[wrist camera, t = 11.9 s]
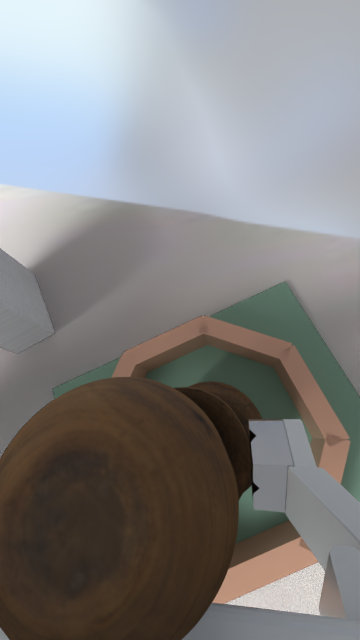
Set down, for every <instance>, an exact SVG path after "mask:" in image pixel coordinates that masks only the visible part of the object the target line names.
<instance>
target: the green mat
mask: <svg viewBox="0 0 360 640" xmlns="http://www.w3.org/2000/svg"><path fill="white" fill-rule="evenodd" d="M209 317H211V318H214V319H218V320H221V321H224V322H227V323H230V324H233V325H236V326H240V327H243V328H246V329H249V330H252V331H255V332H258V333H262V334H265V335H268V336H271V337H274V338H277V339H280V340H284V341H287V342H290V343H292V345H291V346H293V345H295V347H296V349H297V351H298V352H299V354H300V356H301V357H302V359H303V361H304V362H305V364H306V366H307V367H308V369H309V371H310V372H311V374H312V376H313V377H314V379H315V381H316V382H317V384H318V386H319V387H320V389H321V391H322V392H323V394H324V396H325V397H326V399H327V401H328V402H329V404H330V406H331V407H332V409H333V411H334V412H335V414H336V416H337V417H338V419H339V421H340V422H341V424H342V426H343V427H344V429H345V431H346V432H347V434H348V436H349V437H350V438H349V439H347V440H349V441H351V442H350V446H349V450H348V455H347V459H346V463H345V468H344V472H343V476H342V481H341V485H342V486H343V487H344V488H345V489H346V490H347V491H348V492H349V493H350V494H351V495H352V496H354V497H355V498H356V499H357V500H358V501H359V502H360V397H359V395H358V393H357V392H356V390H355V389H354V387H353V386H352V384H351V383H350V381H349V380H348V378H347V376H346V375H345V373H344V372H343V370H342V369H341V367H340V366H339V364H338V362H337V361H336V359H335V358H334V356H333V355H332V353H331V352H330V350H329V348H328V347H327V345H326V344H325V342H324V341H323V339H322V338H321V336H320V334H319V333H318V331H317V330H316V328H315V327H314V325H313V324H312V322H311V320H310V319H309V317H308V316H307V314H306V313H305V311H304V310H303V308H302V307H301V305H300V303H299V302H298V300H297V299H296V297H295V296H294V294H293V293H292V291H291V289H290V288H289V286H288V285H287V283H286V282H283V283H281V284H278V285H276V286H274V287H272V288H270V289H268V290H265V291H263V292H261V293H259V294H257V295H255V296H252V297H250V298H248V299H246V300H244V301H242V302H239V303H237V304H235V305H233V306H231V307H229V308H226V309H224V310H222V311H220V312H218V313H216V314H213V315H211V316H209ZM120 358H121V357H120ZM120 358H118V359H116V360H114V361H112V362H110V363H107V364H105V365H103V366H101V367H99V368H97V369H94V370H92V371H90V372H88V373H86V374H84V375H81V376H79V377H77V378H75V379H73V380H71V381H68V382H66V383H64V384H62V385H60V386H58V387H55V388H53V394H54V398H55V399H56V398H57V397H59V396H61V395H62V394H64V393H66V392H68V391H70V390H72V389H74V388H76V387H79V386H81V385H84V384H87V383H90V382H93V381H97V380H101V379H106V378H111V377H112V375H113V373H114V371H115V369H116V366H117V364H118V362H119V360H120ZM145 379H150V380H154V381H157V382H160V383H163V384H165V385H168V386H170V387H172V388H175V387H189V386H191V385H194V384H197V383H201V382H209V381H212V382H221V383H225V384H228V385H230V386H233V387H235V388H237V389H238V390H240V391H241V392H242V393H244V394H245V395H246V396H247V397H248V398H249V399H250V400H251V401H252V402H253V404H254V405H255V406H256V408H257V409H258V411H259V413H260V415H261V417H262V419H282V420H283V419H300V420H301V421H302V422H303V420H302V418H301V416H300V414H299V413H298V411H297V409H296V407H295V405H294V404H293V402H292V400H291V398H290V396H289V394H288V393H287V391H286V389H285V387H284V385H283V384H282V382H281V380H280V378H279V376H278V375H277V373H276V371H275V369H274V368H273V367H270V366H268V365H265V364H262V363H259V362H256V361H253V360H250V359H247V358H244V357H242V356H239V355H236V354H233V353H230V352H227V351H224V350H221V349H218V348H216V347H213V346H210V345H206V346H204V347H202V348H199V349H197V350H195V351H193V352H191V353H189V354H186V355H184V356H182V357H180V358H178V359H176V360H173V361H171V362H169V363H167V364H165V365H163V366H160V367H158V368H156V369H154V370H152V371H149V372H148V373H147V375H146V378H145ZM303 425H304V429H305V432H306V435H307V438H308V441H309V444H311V440H312V436H311V434H310V432H309V431H308V429H307V427H306V425H305V423H304V422H303ZM288 520H289V519H288V517H287V516H286V514H285V512H275V511H264V510H254V508H253V497H252V487H250V488H249V489H248V490H246V491H245V492H244V493H243V494H242V496H241V498H240V500H239V518H238V532H237V538H236V543H238V542H241V541H243V540H245V539H247V538H250V537H252V536H254V535H256V534H259V533H261V532H263V531H265V530H268V529H270V528H272V527H274V526H277V525H279V524H281V523H283V522H286V521H288ZM236 543H235V544H236Z"/></svg>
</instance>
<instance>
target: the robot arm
mask: <svg viewBox="0 0 360 640" xmlns="http://www.w3.org/2000/svg"><path fill="white" fill-rule="evenodd" d="M248 431H249V439H248V440H249V446H250V460H251V466H250V473H251V487H252V497H253V508H254V510H264V511H275V512H285V514H286V516H287V517H288V519H289V520H290V521H291V523H292V524H293V526H294V527H295V529H296V530H297V532H298V533H299V534H300V536H301V537H302V539H303V540H304V542H305V543H306V544H307V546H308V547H309V549H310V550H311V552H312V553H313V554H314V556H315V557H316V559H317V560H318V562H319V563H320V564H321V566H322V567H323V569H324V570H325V577H324V582H323V588H322V593H321V598H320V604H319V612H320V616H319V615H311V614H303V613H294V612H286V611H278V610H270V609H261V608H253V607H245V606H237V605H228V604H220V603H212V604H211V605H210V607H209V608H208V610H207V611H206V612H205V614H204V615H203V617H202V618H201V619H200V621H199V622H198V623H197V624H196V626H195V627H194V628H193V629H192V630H191V631H190V632H189V633H188V634H187V635H186V636H185V637H184V638H183V639H182V640H360V502H359V501H358V500H357V499H356V498H355V497H354V496H352V495H351V494H350V493H349V492H348V491H347V490H346V489H345V488H344V487H343V486H342V485H341V484H339V483H338V482H337V481H336V480H335V479H334V478H333V477H332V476H331V475H330V474H329V473H328V472H327V471H325V470H324V469H323V468H317V466H316V463H315V460H314V457H313V454H312V451H311V447H310V444H309V441H308V438H307V435H306V432H305V429H304V425H303V422H302V421H301V420H300V419H283V420H282V419H248ZM0 640H10V639H9V638H8V637H7V636H6V634H5V633H4V632H3V631H2V629H1V628H0Z"/></svg>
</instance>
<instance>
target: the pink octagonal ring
mask: <svg viewBox="0 0 360 640" xmlns="http://www.w3.org/2000/svg"><path fill="white" fill-rule="evenodd" d="M206 345H210V346H213V347H216V348H218V349H221V350H224V351H227V352H230V353H233V354H236V355H239V356H242V357H244V358H247V359H250V360H253V361H256V362H259V363H262V364H265V365H268V366H270V367H273V368H274V369H275V371H276V373H277V375H278V376H279V378H280V380H281V382H282V384H283V385H284V387H285V389H286V391H287V393H288V394H289V396H290V398H291V400H292V402H293V404H294V405H295V407H296V409H297V411H298V413H299V414H300V416H301V418H302V420H303V422H304V423H305V425H306V427H307V429H308V431H309V432H310V434H311V436H312V440H311V444H310V447H311V451H312V454H313V457H314V460H315V463H316V466H317V468H323V469H324V470H325V471H327V472H328V473H329V474H330V475H331V476H332V477H333V478H334V479H335V480H336V481H337V482H338V483H339V484H341V481H342V476H343V472H344V468H345V463H346V459H347V455H348V450H349V446H350V442H351V441H349V440H347V439H349V438H350V437H349V436H348V434H347V432H346V431H345V429H344V427H343V426H342V424H341V422H340V421H339V419H338V417H337V416H336V414H335V412H334V411H333V409H332V407H331V406H330V404H329V402H328V401H327V399H326V397H325V396H324V394H323V392H322V391H321V389H320V387H319V386H318V384H317V382H316V381H315V379H314V377H313V376H312V374H311V372H310V371H309V369H308V367H307V366H306V364H305V362H304V361H303V359H302V357H301V356H300V354H299V352H298V351H297V349H296V347H295V345H293V346H291V345H292V343H290V342H287V341H284V340H280V339H277V338H274V337H271V336H268V335H265V334H262V333H258V332H255V331H252V330H249V329H246V328H243V327H240V326H236V325H233V324H230V323H227V322H224V321H221V320H218V319H214V318H211V317H208V316H205V315H204V317H203V316H200V317H198V318H195V319H193V320H191V321H189V322H187V323H185V324H182V325H180V326H178V327H176V328H174V329H172V330H169V331H167V332H165V333H163V334H161V335H159V336H156V337H154V338H152V339H150V340H148V341H146V342H144V343H141V344H139V345H137V346H135V347H133V348H131V349H128V350H126V351H124V353H125V354H124V353H122V355H121V358H120V360H119V362H118V364H117V366H116V369H115V371H114V373H113V375H112V377H111V378H113V377H138V378H146V375H147V373H148V372H149V371H152V370H154V369H156V368H158V367H160V366H163V365H165V364H167V363H169V362H171V361H173V360H176V359H178V358H180V357H182V356H184V355H186V354H189V353H191V352H193V351H195V350H197V349H199V348H202V347H204V346H206ZM317 562H318V560H317V559H316V557H315V556H314V554H313V553H312V552H311V550H310V549H309V547H308V546H307V544H306V543H305V542H304V540H303V539H302V537H301V536H300V534H299V533H298V532H297V530H296V529H295V527H294V526H293V524H292V523H291V521H290V520H288V521H286V522H283V523H281V524H279V525H277V526H274V527H272V528H270V529H268V530H265V531H263V532H261V533H259V534H256V535H254V536H252V537H250V538H247V539H245V540H243V541H241V542H238V543H236V544H235V548H234V552H233V556H232V559H231V563H230V566H229V569H228V572H227V574H226V577H225V579H224V581H223V583H222V586H221V588H220V590H219V591H218V593H217V595H216V597H215V599H214V600H213V602H212V603H220V604H224V603H227V602H229V601H231V600H233V599H236V598H238V597H240V596H242V595H245V594H247V593H249V592H252V591H254V590H256V589H258V588H261V587H263V586H265V585H267V584H270V583H272V582H274V581H276V580H279V579H281V578H283V577H286V576H288V575H290V574H292V573H295V572H297V571H299V570H301V569H304V568H306V567H308V566H310V565H313V564H315V563H317Z"/></svg>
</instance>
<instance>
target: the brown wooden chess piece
mask: <svg viewBox="0 0 360 640" xmlns="http://www.w3.org/2000/svg"><path fill="white" fill-rule="evenodd" d="M248 419H262V417H261V415H260V413H259V411H258V409H257V408H256V406H255V405H254V404H253V402H252V401H251V400H250V399H249V398H248V397H247V396H246V395H245V394H244V393H242V392H241V391H240V390H238V389H237V388H235V387H233V386H230V385H228V384H225V383H221V382H212V381H209V382H201V383H197V384H194V385H191V386H189V387H175V388H172V387H170V386H168V385H165V384H163V383H160V382H157V381H154V380H150V379H145V378H138V377H113V378H106V379H101V380H97V381H93V382H90V383H87V384H84V385H81V386H79V387H76V388H74V389H72V390H70V391H68V392H66V393H64V394H62V395H61V396H59V397H57V398H56V399H54V400H53V401H51V402H50V403H48V404H47V405H46V406H44V407H43V408H42V409H41V410H40V411H38V412H37V413H36V414H35V415H34V416H33V417H32V418H31V419H30V420H29V421H28V422H27V423H26V424H25V425H24V426H23V427H22V428H21V429H20V431H19V432H18V433H17V434H16V436H15V437H14V438H13V440H12V441H11V442H10V444H9V445H8V447H7V448H6V450H5V451H4V453H3V455H2V457H1V458H0V628H1V629H2V631H3V632H4V633H5V634H6V636H7V637H8V638H9V639H10V640H182V639H183V638H184V637H185V636H186V635H187V634H188V633H189V632H190V631H191V630H192V629H193V628H194V627H195V626H196V624H197V623H198V622H199V621H200V619H201V618H202V617H203V615H204V614H205V612H206V611H207V610H208V608H209V607H210V605H211V604H212V602H213V600H214V599H215V597H216V595H217V593H218V591H219V590H220V588H221V586H222V583H223V581H224V579H225V577H226V574H227V572H228V569H229V566H230V563H231V559H232V556H233V552H234V548H235V543H236V538H237V532H238V518H239V500H240V498H241V496H242V494H243V493H244V492H245V491H246V490H248V489H249V488H250V487H251V473H250V466H251V460H250V446H249V440H248V439H249V431H248Z"/></svg>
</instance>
